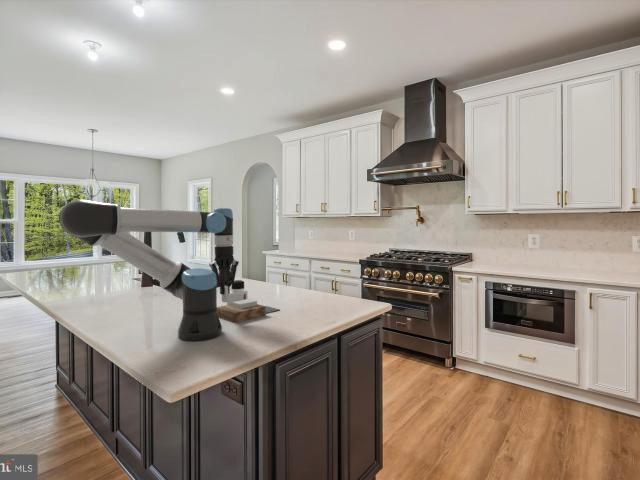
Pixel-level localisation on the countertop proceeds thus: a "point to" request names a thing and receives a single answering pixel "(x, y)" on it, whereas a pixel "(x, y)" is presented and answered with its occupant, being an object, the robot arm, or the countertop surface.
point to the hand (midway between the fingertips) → (225, 301)
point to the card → (244, 303)
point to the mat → (270, 309)
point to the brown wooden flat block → (240, 312)
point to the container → (237, 292)
